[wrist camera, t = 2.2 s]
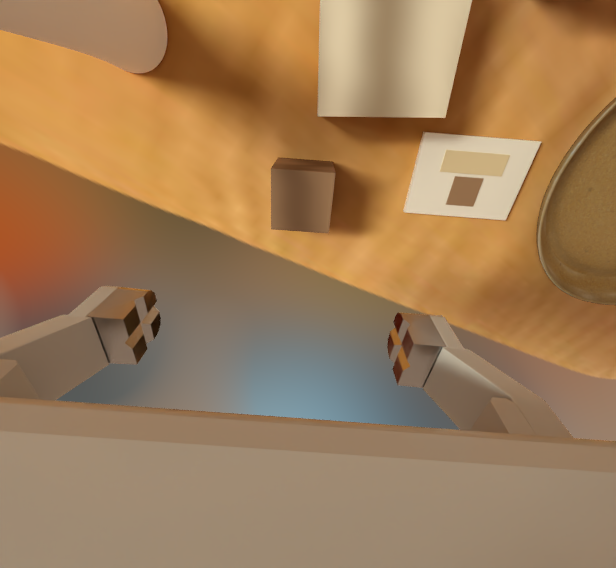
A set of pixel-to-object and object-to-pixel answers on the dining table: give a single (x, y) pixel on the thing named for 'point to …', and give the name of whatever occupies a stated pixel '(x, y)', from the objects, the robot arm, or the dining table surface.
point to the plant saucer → (583, 215)
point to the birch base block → (389, 56)
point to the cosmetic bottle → (94, 28)
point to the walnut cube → (301, 195)
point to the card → (468, 175)
